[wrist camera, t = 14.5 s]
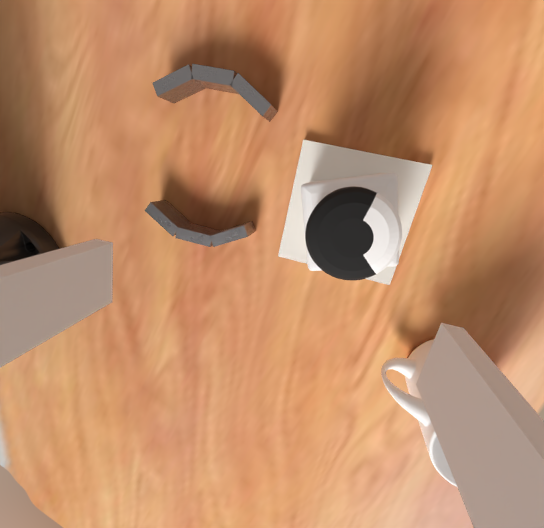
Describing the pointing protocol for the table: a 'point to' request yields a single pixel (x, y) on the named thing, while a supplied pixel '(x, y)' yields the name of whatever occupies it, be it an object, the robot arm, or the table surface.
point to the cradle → (176, 90)
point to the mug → (417, 403)
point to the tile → (340, 164)
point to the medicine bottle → (352, 225)
